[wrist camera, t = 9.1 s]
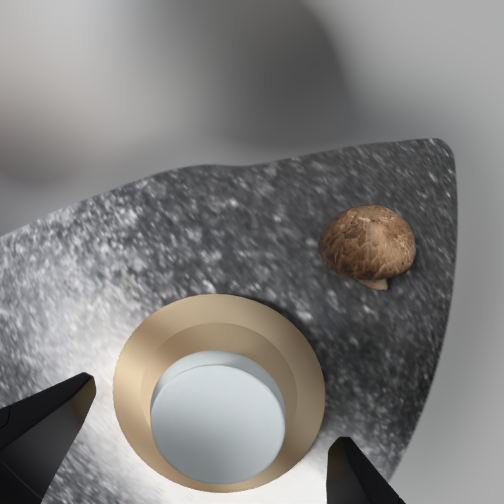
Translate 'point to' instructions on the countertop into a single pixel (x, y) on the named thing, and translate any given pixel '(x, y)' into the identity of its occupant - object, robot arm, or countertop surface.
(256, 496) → the countertop surface
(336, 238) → the mushroom
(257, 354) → the plate
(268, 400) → the supplement bottle
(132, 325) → the countertop surface
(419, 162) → the countertop surface
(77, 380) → the robot arm
